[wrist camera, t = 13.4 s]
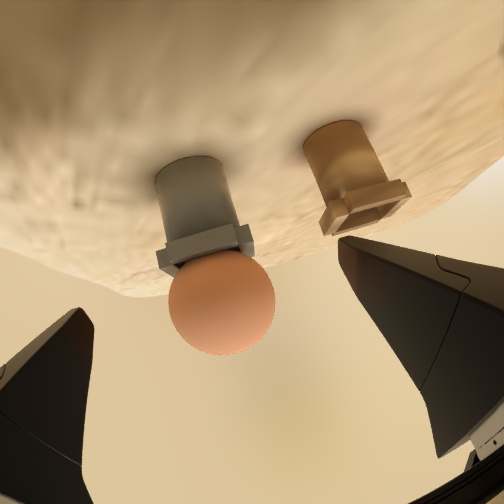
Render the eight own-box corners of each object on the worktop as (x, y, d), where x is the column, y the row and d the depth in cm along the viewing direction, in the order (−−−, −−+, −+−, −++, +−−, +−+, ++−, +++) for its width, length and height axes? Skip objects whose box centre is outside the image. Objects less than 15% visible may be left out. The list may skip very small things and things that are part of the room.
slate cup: (137, 169, 17) (154, 266, 16) (224, 142, 17) (253, 237, 16) (162, 203, 22) (179, 280, 21) (231, 182, 22) (254, 258, 21)
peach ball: (293, 294, 20) (296, 265, 15) (246, 374, 19) (229, 377, 13) (217, 253, 22) (194, 212, 16) (170, 326, 20) (130, 309, 15)
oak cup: (302, 124, 17) (339, 212, 16) (376, 112, 17) (417, 191, 16) (294, 165, 22) (321, 239, 21) (356, 151, 23) (386, 219, 21)
